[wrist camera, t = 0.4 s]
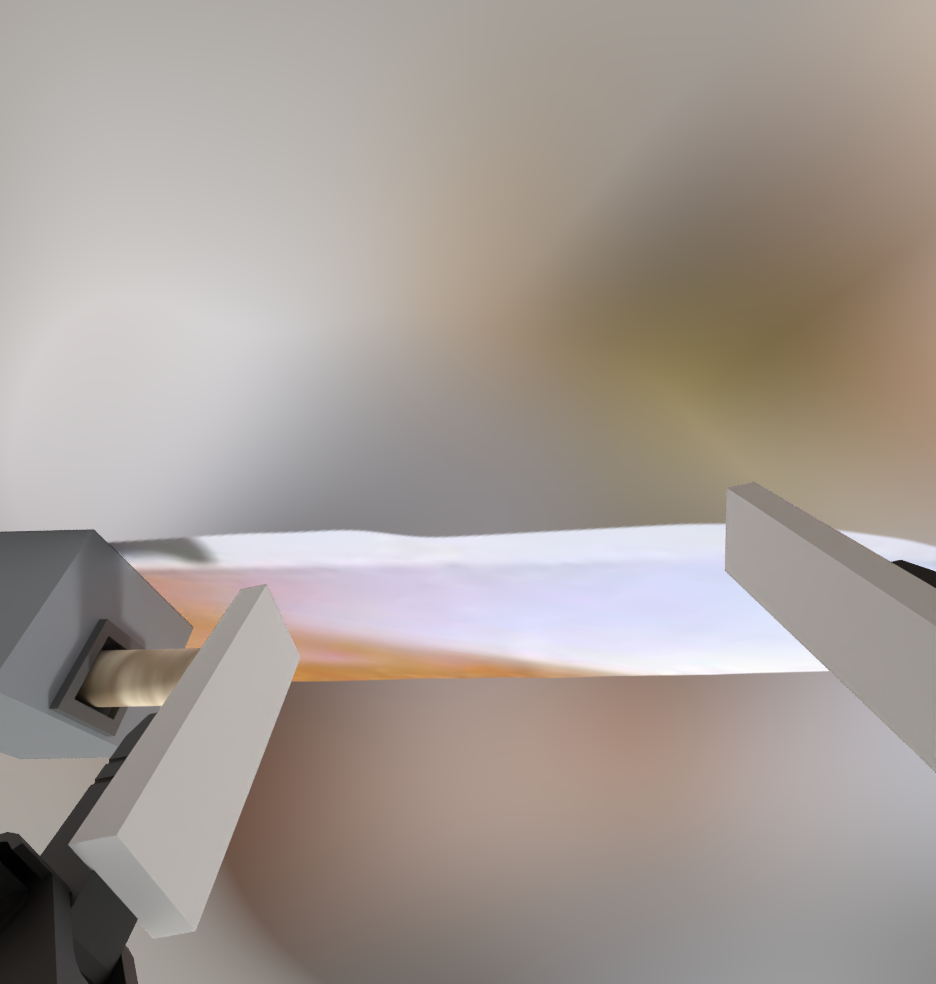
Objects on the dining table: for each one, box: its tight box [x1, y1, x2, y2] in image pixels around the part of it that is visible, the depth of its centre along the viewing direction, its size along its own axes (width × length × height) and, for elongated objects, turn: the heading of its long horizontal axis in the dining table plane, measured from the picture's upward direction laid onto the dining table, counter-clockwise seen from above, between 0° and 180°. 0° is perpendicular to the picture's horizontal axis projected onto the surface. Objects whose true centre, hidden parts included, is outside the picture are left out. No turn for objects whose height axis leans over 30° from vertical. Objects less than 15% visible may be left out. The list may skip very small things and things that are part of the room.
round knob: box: [75, 648, 201, 707], centre depth 35 cm, size 13×6×6 cm, turn 91°
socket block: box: [0, 530, 193, 759], centre depth 37 cm, size 11×16×12 cm, turn 1°
